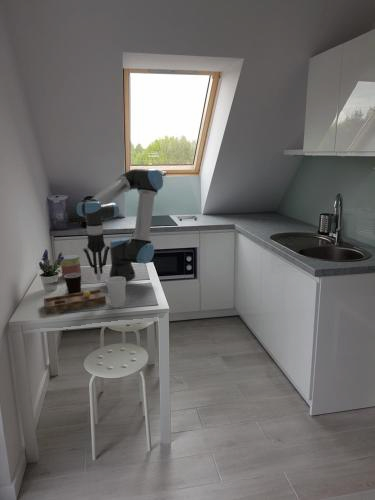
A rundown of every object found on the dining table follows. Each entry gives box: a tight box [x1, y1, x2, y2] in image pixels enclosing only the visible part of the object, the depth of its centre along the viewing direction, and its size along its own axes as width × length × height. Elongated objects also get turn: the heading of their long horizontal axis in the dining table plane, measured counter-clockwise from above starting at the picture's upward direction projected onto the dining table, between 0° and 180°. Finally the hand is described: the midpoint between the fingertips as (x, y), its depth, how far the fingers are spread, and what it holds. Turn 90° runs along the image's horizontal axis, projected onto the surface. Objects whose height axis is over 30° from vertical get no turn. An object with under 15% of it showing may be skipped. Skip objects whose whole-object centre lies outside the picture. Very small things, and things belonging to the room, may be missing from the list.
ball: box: [83, 290, 90, 298], centre depth 193 cm, size 4×4×4 cm
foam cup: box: [105, 276, 127, 308], centre depth 189 cm, size 10×9×13 cm
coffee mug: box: [64, 273, 82, 295], centre depth 208 cm, size 12×9×10 cm
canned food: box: [60, 253, 82, 279], centre depth 236 cm, size 11×11×12 cm
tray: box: [43, 288, 107, 315], centre depth 192 cm, size 28×12×4 cm, turn 114°
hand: (99, 279), depth 194 cm, fingers closed
